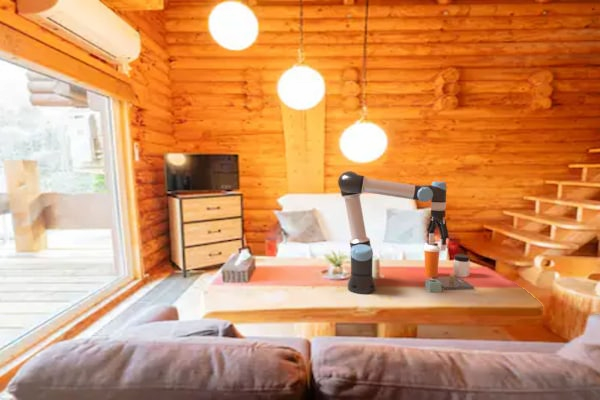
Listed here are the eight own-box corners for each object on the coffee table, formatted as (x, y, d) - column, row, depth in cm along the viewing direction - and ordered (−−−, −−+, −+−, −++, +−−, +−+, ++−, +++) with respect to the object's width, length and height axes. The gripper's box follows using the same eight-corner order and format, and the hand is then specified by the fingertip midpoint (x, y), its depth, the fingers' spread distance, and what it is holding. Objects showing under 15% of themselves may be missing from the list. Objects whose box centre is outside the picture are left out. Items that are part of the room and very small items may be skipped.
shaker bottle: (436, 278, 193) (437, 245, 191) (421, 275, 198) (422, 243, 196) (440, 274, 200) (441, 242, 198) (425, 271, 206) (426, 240, 204)
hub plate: (444, 289, 175) (444, 279, 175) (431, 279, 191) (432, 270, 191) (473, 289, 176) (474, 279, 175) (458, 279, 192) (459, 269, 191)
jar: (465, 278, 193) (466, 258, 191) (451, 275, 198) (452, 256, 197) (470, 274, 199) (471, 255, 198) (457, 271, 205) (457, 253, 203)
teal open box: (430, 292, 172) (430, 282, 172) (425, 288, 178) (425, 278, 178) (441, 291, 172) (441, 282, 172) (436, 287, 178) (436, 278, 178)
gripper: (456, 212, 167) (455, 253, 170) (434, 206, 192) (433, 242, 194) (442, 212, 167) (441, 253, 169) (421, 207, 192) (420, 242, 194)
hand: (436, 247), depth 182 cm, fingers open, 13 cm apart
